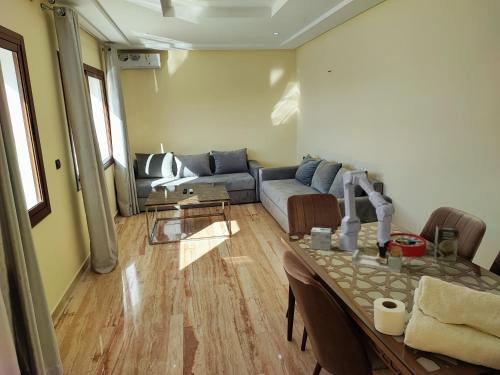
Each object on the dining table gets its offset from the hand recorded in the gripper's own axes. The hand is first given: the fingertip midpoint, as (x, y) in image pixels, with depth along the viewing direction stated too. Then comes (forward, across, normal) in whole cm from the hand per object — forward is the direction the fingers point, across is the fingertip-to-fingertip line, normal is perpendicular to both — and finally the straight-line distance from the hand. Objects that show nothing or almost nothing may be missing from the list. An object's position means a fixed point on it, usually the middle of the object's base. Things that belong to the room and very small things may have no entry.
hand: (383, 255), depth 166 cm
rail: (+5, 0, +3) cm, 6 cm away
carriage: (+3, 0, 0) cm, 4 cm away
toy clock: (+6, +25, -8) cm, 27 cm away
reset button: (+1, 0, -6) cm, 6 cm away
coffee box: (+6, +21, -26) cm, 34 cm away
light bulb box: (+6, +9, +34) cm, 35 cm away
